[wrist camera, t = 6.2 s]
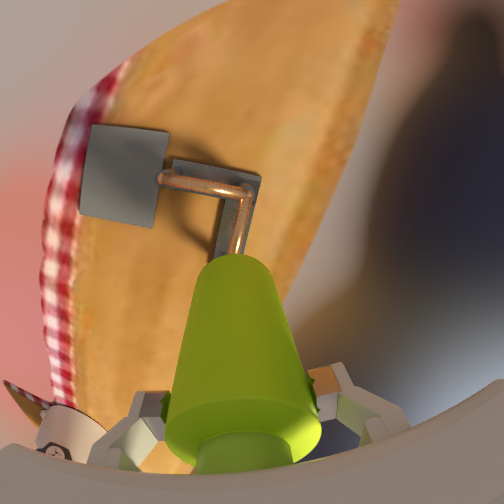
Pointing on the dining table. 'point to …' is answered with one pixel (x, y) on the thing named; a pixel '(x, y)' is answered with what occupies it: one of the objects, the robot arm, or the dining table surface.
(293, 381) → the soap dispenser
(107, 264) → the dining table surface
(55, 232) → the dining table surface
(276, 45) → the dining table surface
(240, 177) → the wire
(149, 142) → the mat
